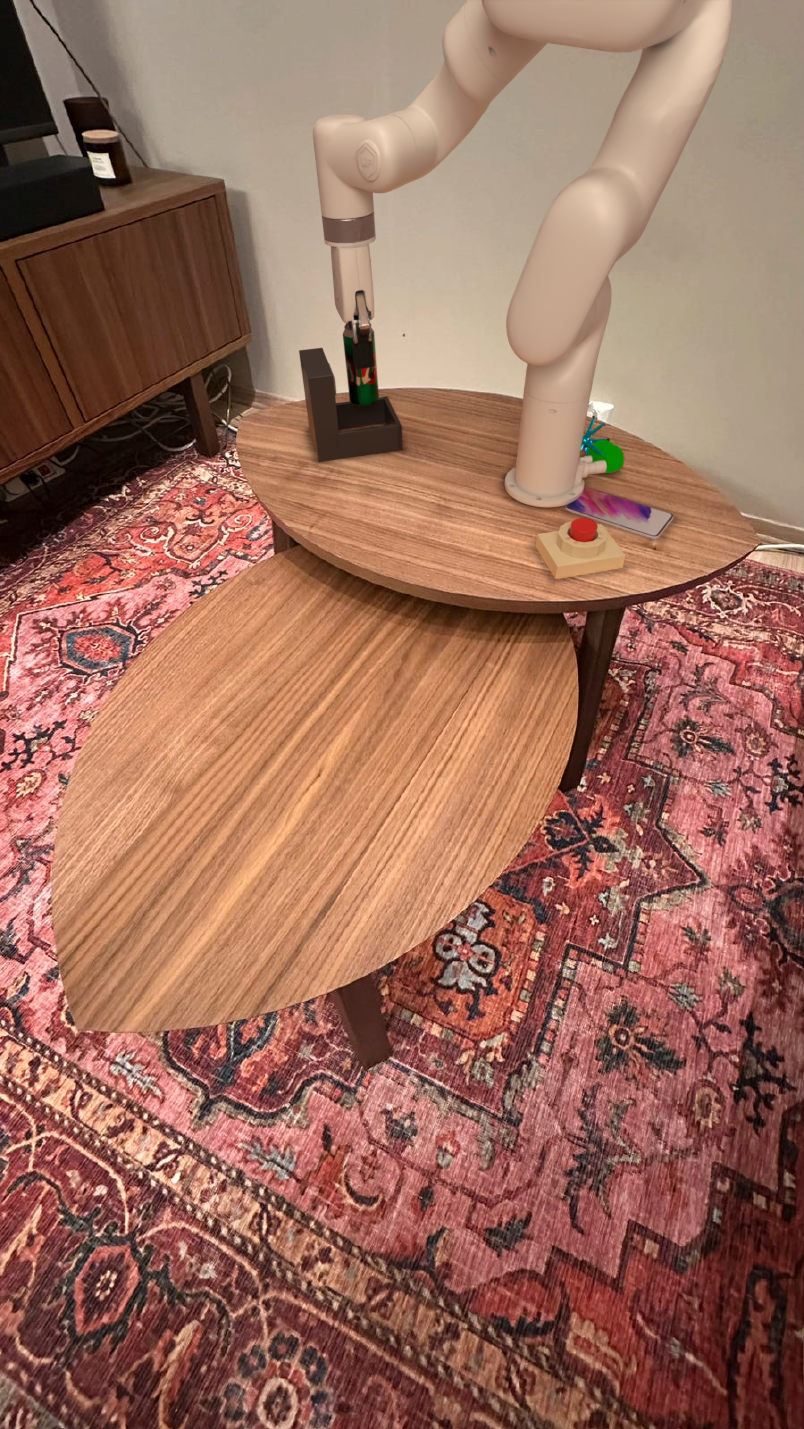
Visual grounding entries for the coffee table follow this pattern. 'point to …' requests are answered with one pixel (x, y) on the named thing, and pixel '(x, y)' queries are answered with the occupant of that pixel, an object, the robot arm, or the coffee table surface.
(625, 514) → the smartphone
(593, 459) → the stick construction toy
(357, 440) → the brown can holder
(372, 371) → the soda can
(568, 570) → the control block
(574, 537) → the button
